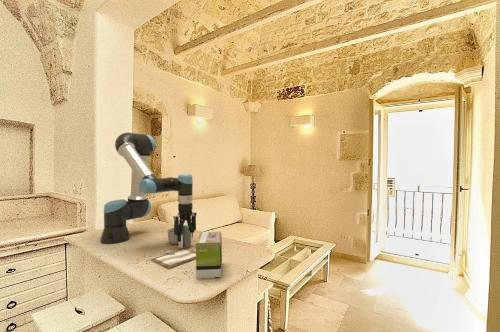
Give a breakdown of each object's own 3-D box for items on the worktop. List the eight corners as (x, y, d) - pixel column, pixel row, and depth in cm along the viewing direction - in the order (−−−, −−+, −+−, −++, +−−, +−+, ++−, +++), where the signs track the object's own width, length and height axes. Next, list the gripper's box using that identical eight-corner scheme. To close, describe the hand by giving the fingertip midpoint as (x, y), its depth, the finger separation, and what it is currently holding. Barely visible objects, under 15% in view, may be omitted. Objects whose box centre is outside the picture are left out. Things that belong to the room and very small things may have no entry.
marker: (181, 248, 129) (181, 226, 129) (185, 246, 131) (185, 225, 131) (184, 249, 127) (184, 226, 127) (188, 247, 129) (188, 225, 129)
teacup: (181, 246, 132) (181, 231, 132) (163, 245, 134) (163, 230, 134) (192, 238, 146) (192, 225, 146) (176, 237, 148) (176, 224, 148)
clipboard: (149, 259, 113) (149, 257, 113) (183, 248, 128) (183, 246, 128) (168, 269, 103) (168, 266, 103) (203, 256, 118) (203, 253, 118)
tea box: (200, 263, 109) (200, 231, 109) (222, 263, 110) (222, 231, 110) (195, 279, 94) (195, 242, 94) (221, 278, 95) (221, 241, 95)
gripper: (174, 205, 120) (174, 252, 120) (203, 201, 134) (203, 242, 134) (166, 204, 124) (166, 248, 124) (194, 200, 139) (194, 240, 139)
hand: (185, 245), depth 129 cm, fingers open, 5 cm apart
